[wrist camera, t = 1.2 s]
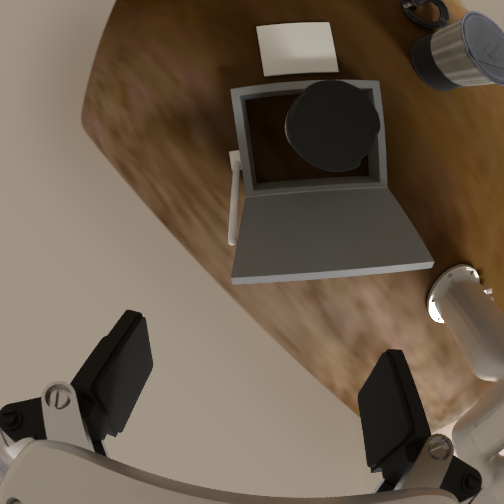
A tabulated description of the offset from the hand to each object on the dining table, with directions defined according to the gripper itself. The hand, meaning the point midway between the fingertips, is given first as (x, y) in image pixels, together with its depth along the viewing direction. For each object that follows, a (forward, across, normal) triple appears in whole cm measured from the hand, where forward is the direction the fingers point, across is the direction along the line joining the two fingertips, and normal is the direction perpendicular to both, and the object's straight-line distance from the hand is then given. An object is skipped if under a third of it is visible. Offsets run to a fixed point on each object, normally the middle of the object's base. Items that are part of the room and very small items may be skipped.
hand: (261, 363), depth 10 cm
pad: (+31, 0, -21) cm, 37 cm away
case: (+31, -3, -6) cm, 32 cm away
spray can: (+32, -3, -9) cm, 33 cm away
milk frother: (+32, -20, -29) cm, 47 cm away
